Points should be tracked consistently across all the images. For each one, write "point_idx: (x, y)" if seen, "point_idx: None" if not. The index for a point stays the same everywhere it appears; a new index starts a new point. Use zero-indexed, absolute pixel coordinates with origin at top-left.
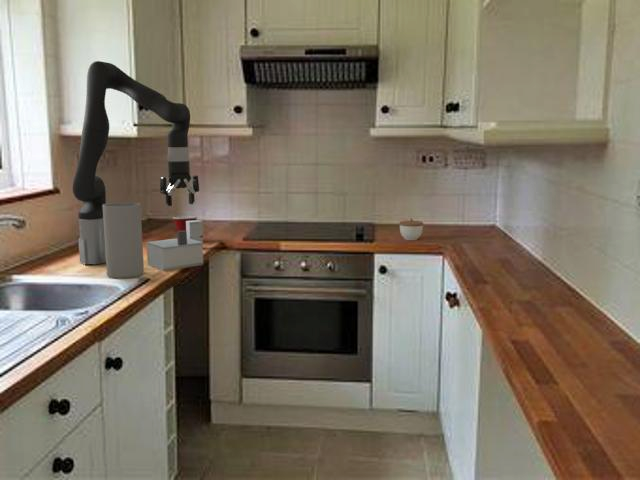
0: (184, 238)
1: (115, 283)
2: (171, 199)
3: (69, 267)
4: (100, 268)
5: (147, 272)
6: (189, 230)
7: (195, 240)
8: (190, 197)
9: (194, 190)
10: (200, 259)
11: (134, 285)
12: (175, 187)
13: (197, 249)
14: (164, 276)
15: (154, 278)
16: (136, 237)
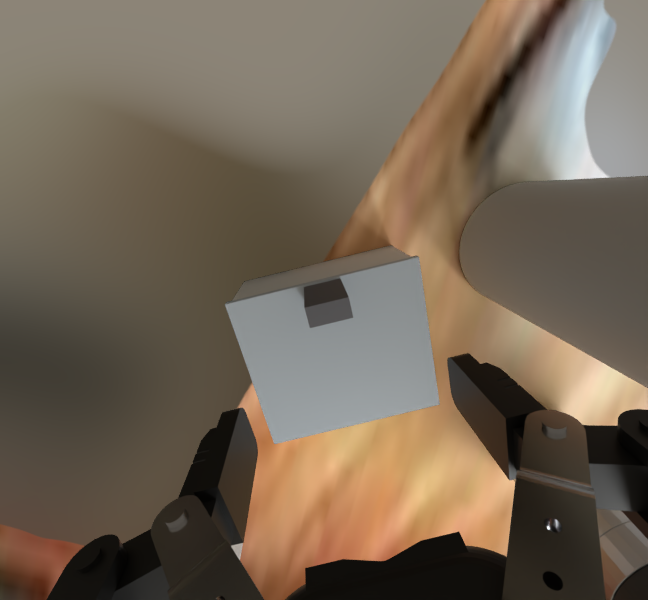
0: (316, 293)
1: (583, 128)
2: (482, 387)
3: (603, 410)
4: (541, 366)
5: (442, 250)
6: None
7: (248, 362)
8: (236, 470)
9: (148, 558)
10: (251, 284)
11: (544, 58)
12: (523, 520)
13: (256, 293)
14: (412, 158)
15: (451, 142)
16: (610, 193)
